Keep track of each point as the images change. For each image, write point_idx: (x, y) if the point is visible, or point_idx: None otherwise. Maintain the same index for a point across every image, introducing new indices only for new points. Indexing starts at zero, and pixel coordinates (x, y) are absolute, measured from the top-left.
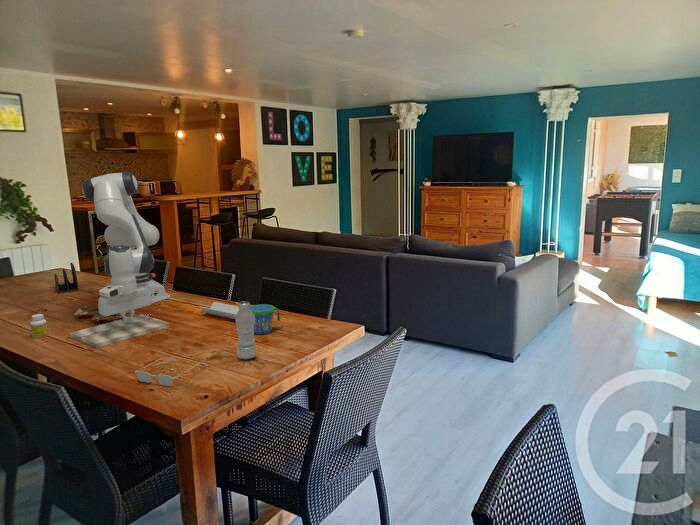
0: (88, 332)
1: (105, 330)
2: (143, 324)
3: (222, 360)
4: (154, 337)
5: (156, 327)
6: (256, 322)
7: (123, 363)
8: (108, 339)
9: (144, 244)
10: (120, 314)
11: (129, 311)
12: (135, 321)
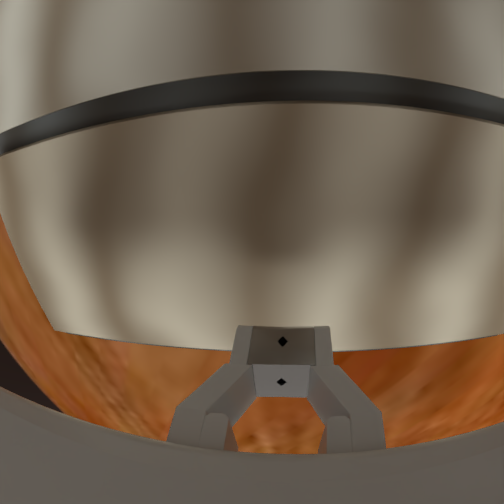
0: (24, 59)
1: (126, 89)
2: (452, 226)
3: None
4: (361, 357)
5: (434, 340)
6: None
7: (148, 430)
8: (107, 326)
9: None
10: (184, 409)
11: (324, 430)
12: (475, 63)
